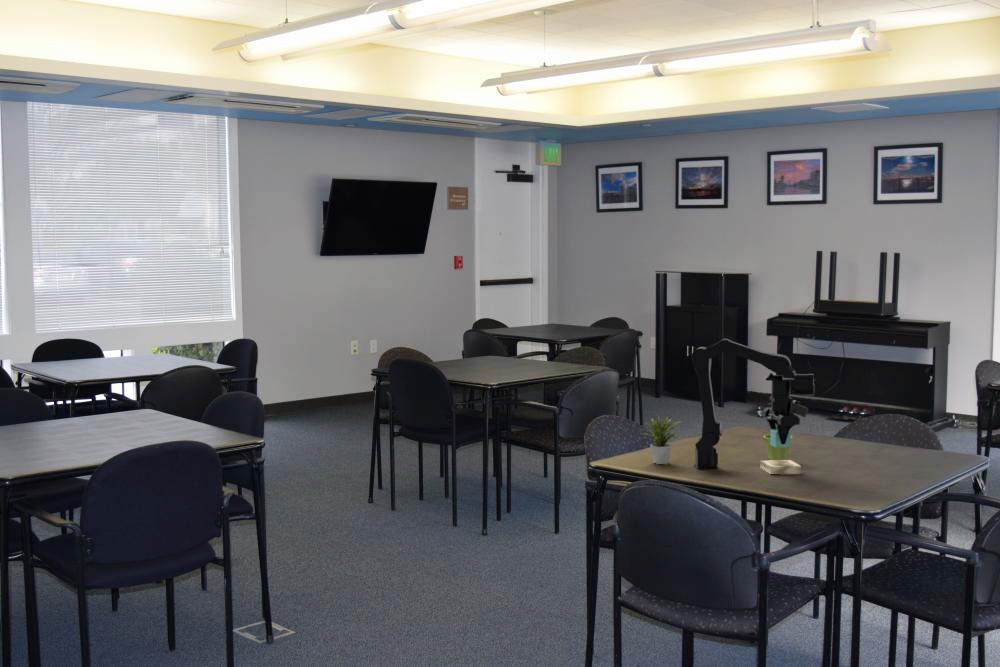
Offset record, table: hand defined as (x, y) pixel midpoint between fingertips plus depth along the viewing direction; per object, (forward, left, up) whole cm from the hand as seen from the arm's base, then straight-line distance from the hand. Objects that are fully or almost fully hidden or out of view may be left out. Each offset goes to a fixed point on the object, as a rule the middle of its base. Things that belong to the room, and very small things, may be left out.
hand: (780, 442), depth 324 cm
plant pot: (+4, +14, -10) cm, 17 cm away
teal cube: (0, 0, -1) cm, 1 cm away
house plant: (-35, +16, -9) cm, 40 cm away
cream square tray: (0, 0, -9) cm, 9 cm away
